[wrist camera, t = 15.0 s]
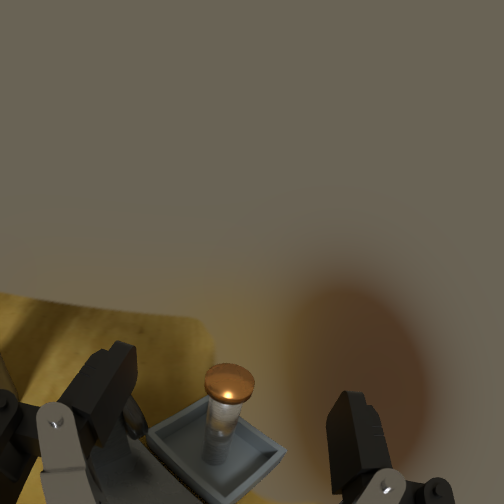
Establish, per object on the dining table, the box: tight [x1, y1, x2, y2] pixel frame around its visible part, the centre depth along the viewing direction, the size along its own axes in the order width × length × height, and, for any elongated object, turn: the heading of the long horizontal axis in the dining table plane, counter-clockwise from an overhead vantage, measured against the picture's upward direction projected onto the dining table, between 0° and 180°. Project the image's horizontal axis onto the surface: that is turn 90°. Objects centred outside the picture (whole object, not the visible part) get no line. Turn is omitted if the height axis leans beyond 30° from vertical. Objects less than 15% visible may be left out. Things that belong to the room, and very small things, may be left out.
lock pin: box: [201, 363, 255, 466], centre depth 27 cm, size 4×4×15 cm
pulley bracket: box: [90, 395, 203, 504], centre depth 19 cm, size 20×10×13 cm, turn 50°
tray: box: [146, 395, 287, 504], centre depth 29 cm, size 13×11×4 cm
